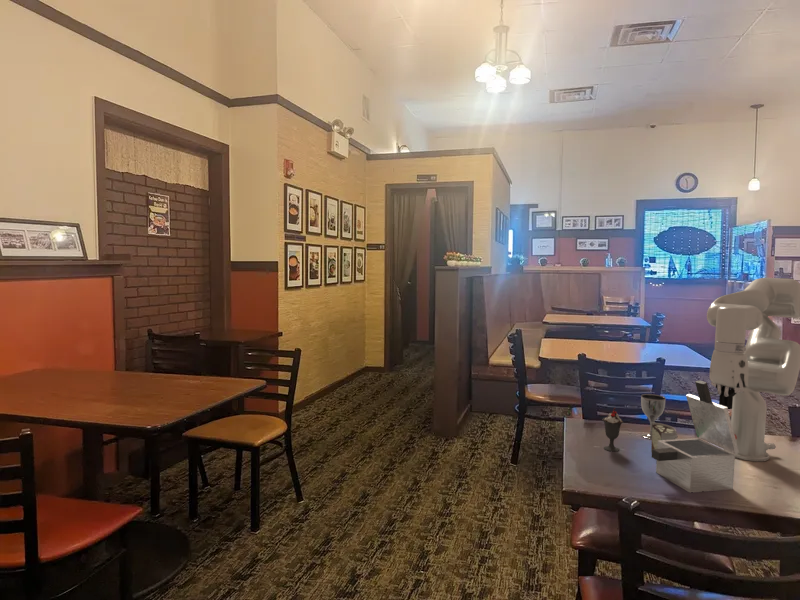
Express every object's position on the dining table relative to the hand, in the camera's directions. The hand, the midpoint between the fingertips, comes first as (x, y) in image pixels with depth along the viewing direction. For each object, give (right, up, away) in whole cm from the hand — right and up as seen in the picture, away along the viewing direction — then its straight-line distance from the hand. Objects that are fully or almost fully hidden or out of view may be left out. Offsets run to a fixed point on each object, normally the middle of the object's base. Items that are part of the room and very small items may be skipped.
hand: (725, 408), depth 155 cm
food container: (-10, -20, +15) cm, 27 cm away
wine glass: (-5, -18, +35) cm, 40 cm away
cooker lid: (-7, -1, -3) cm, 8 cm away
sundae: (-25, -19, +22) cm, 38 cm away
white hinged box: (-14, -21, -3) cm, 25 cm away
